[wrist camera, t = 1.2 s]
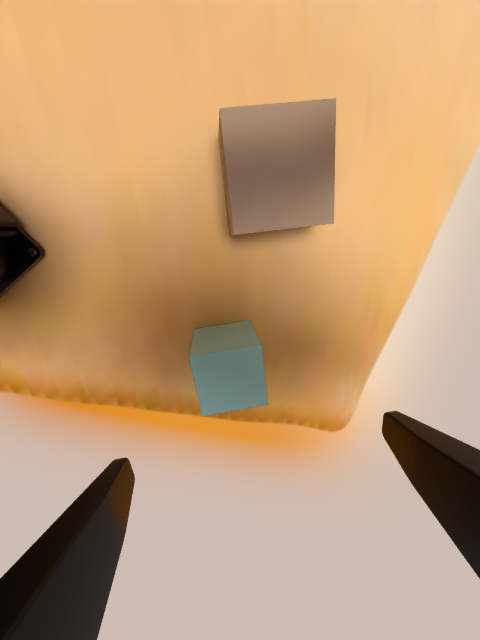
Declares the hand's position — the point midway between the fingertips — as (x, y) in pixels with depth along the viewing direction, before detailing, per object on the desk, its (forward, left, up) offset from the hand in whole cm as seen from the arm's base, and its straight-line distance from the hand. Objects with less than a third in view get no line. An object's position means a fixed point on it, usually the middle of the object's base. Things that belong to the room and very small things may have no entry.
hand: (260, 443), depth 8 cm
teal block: (-2, -1, -12) cm, 13 cm away
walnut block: (+8, +7, -12) cm, 16 cm away
